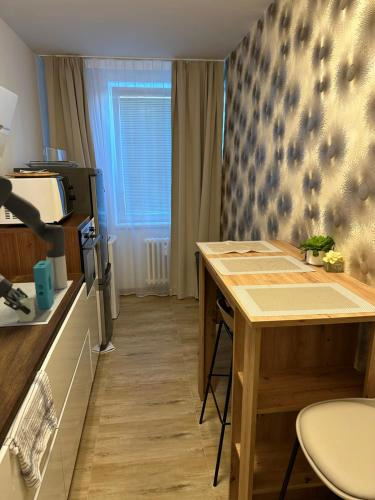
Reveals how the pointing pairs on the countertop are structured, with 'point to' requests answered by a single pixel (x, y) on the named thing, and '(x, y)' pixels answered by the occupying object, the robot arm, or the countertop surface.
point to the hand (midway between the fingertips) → (31, 310)
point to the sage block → (30, 305)
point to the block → (44, 284)
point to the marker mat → (39, 316)
